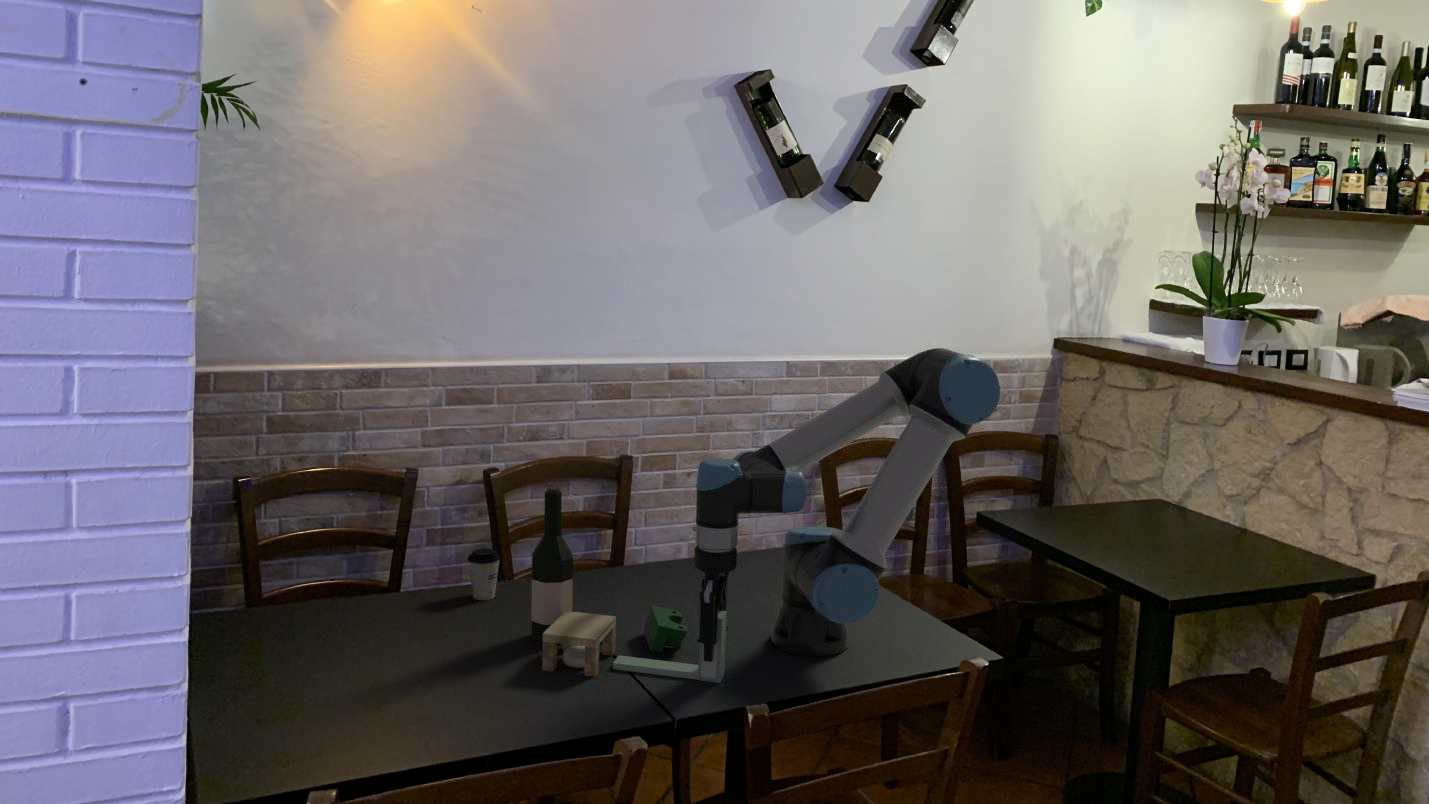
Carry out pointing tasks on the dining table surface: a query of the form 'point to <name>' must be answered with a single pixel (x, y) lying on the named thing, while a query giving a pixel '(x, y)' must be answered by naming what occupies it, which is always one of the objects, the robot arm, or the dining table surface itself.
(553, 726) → the dining table surface
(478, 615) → the dining table surface
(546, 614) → the wine bottle
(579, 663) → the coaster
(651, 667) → the l-shaped bracket
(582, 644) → the riser
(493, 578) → the coffee cup
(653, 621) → the clamp
